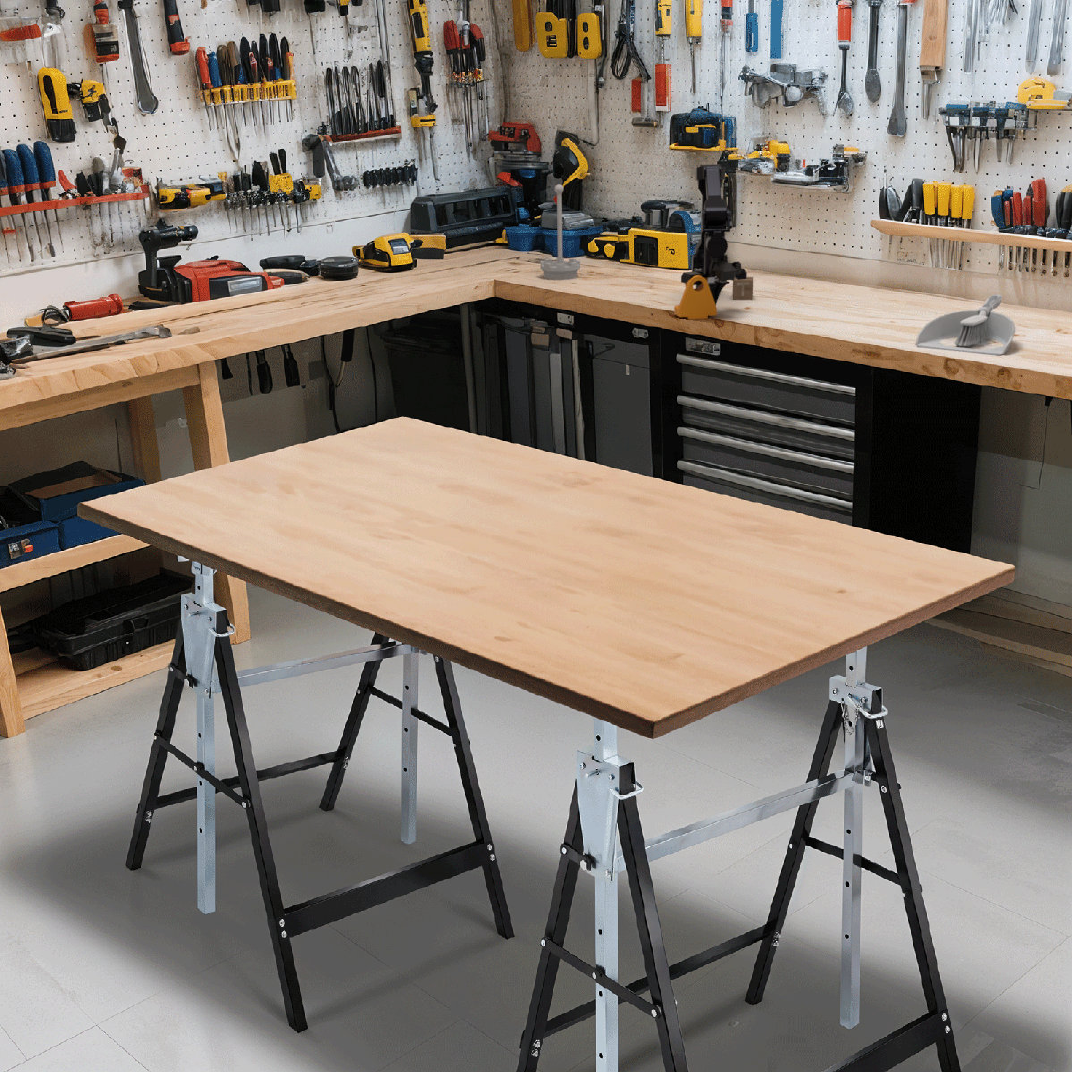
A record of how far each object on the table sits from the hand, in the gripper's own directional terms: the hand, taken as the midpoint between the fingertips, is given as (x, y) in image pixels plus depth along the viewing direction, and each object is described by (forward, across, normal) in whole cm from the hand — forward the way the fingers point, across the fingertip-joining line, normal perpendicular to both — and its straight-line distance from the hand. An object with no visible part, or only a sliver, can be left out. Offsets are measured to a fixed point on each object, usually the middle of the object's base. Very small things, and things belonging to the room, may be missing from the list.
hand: (713, 306), depth 389 cm
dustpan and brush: (+3, +40, -63) cm, 75 cm away
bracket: (+2, -7, -1) cm, 7 cm away
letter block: (+2, +20, +15) cm, 25 cm away
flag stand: (+2, -10, +78) cm, 78 cm away
